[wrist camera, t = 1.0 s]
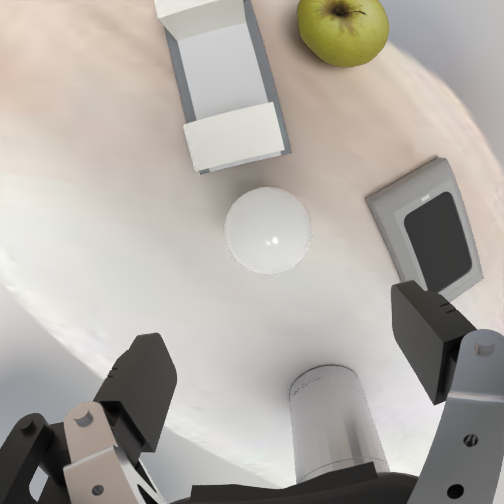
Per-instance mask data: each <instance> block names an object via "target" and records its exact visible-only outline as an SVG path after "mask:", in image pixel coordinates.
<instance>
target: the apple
mask: <svg viewBox="0 0 504 504" xmlns="http://www.w3.org/2000/svg"><path fill="white" fill-rule="evenodd" d="M297 18H298V28H299V34H300V36H301V38H302V40H303V41H304V43H305V44H306V45H307V46H308V47H309V48H310V49H311V50H312V51H313V52H314V53H315V54H316V55H317V56H318V57H319V58H320V59H321V60H323V61H324V62H326V63H328V64H331V65H335V66H339V67H354V66H358V65H362V64H365V63H368V62H369V61H371V60H372V59H373V58H374V57H375V56H376V55H377V54H378V53H379V52H380V51H381V50H382V49H383V47H384V46H385V44H386V42H387V38H388V33H389V22H388V18H387V15H386V13H385V10H384V8H383V6H382V5H381V3H380V2H379V1H378V0H300V2H299V4H298V8H297Z"/></svg>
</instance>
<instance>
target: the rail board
mask: <svg viewBox="0 0 504 504" xmlns="http://www.w3.org/2000/svg"><path fill="white" fill-rule="evenodd" d="M243 3H244V10H245V18H246V23H243V24H239V25H234V26H230V27H226V28H222V29H218V30H214V31H210V32H207V33H203V34H200V35H196V36H193V37H189V38H186V39H183V40H180V41H177V40H176V39H175V38H174V37H173V36H172V34H171V33H170V32H169V31H168V30H167V29H166V27H165V26H164V28H165V33H166V37H167V42H168V46H169V50H170V55H171V59H172V63H173V68H174V72H175V76H176V80H177V84H178V89H179V93H180V97H181V101H182V105H183V109H184V113H185V117H186V121H187V123H190V122H194V121H197V120H201V119H204V118H208V117H211V116H215V115H219V114H223V113H226V112H230V111H234V110H238V109H243V108H247V107H251V106H255V105H260V104H264V103H269V102H273V104H274V108H275V110H278V109H279V112H280V116H281V120H282V124H283V129H284V133H285V137H286V141H287V142H283V144H284V148H285V150H282V151H278V152H273V153H269V154H264V155H260V156H256V157H251V158H247V159H243V160H239V161H235V162H231V163H227V164H223V165H219V166H215V167H211V168H207V169H204V170H200V171H199V172H200V175H201V174H205V173H209V172H213V171H217V170H221V169H225V168H229V167H233V166H237V165H241V164H245V163H249V162H254V161H258V160H262V159H267V158H271V157H276V156H280V155H284V154H289V153H292V151H291V147H290V143H289V138H288V134H287V130H286V126H285V122H284V118H283V114H282V110H281V106H280V102H279V98H278V94H277V91H276V87H275V83H274V79H273V76H272V72H271V68H270V65H269V61H268V58H267V54H266V51H265V47H264V44H263V40H262V37H261V33H260V30H259V27H258V23H257V20H256V17H255V14H254V10H253V7H252V4H251V1H250V0H246V2H243Z"/></svg>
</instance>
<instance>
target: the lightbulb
mask: <svg viewBox="0 0 504 504" xmlns="http://www.w3.org/2000/svg"><path fill="white" fill-rule="evenodd" d="M312 236H313V227H312V221H311V217H310V215H309V212H308V210H307V209H306V207H305V205H304V204H303V203H302V202H301V201H300V200H299V199H298V198H297V197H296V196H295V195H293V194H292V193H290V192H288V191H286V190H284V189H281V188H276V187H260V188H256V189H253V190H250V191H248V192H246V193H245V194H243V195H242V196H241V197H239V198H238V199H237V200H236V201H235V202H234V204H233V205H232V206H231V208H230V210H229V212H228V214H227V216H226V220H225V224H224V238H225V243H226V246H227V248H228V251H229V252H230V254H231V256H232V257H233V258H234V260H235V261H236V262H237V263H238V264H239V265H240V266H242V267H243V268H245V269H246V270H248V271H250V272H253V273H255V274H259V275H278V274H281V273H284V272H287V271H289V270H291V269H292V268H294V267H295V266H296V265H298V264H299V263H300V262H301V261H302V259H303V258H304V257H305V255H306V254H307V252H308V250H309V248H310V245H311V241H312Z"/></svg>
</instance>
